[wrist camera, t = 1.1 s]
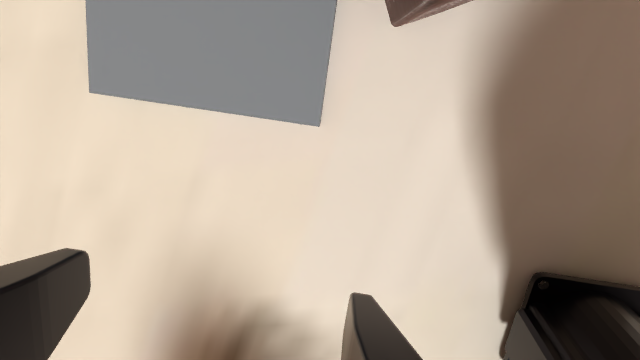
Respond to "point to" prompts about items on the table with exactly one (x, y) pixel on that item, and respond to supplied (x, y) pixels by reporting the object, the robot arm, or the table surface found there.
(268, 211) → the table surface
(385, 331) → the robot arm
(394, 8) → the box
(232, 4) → the mat
